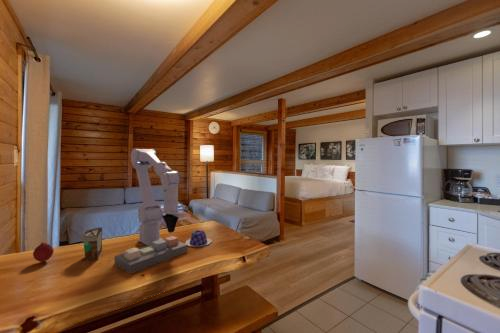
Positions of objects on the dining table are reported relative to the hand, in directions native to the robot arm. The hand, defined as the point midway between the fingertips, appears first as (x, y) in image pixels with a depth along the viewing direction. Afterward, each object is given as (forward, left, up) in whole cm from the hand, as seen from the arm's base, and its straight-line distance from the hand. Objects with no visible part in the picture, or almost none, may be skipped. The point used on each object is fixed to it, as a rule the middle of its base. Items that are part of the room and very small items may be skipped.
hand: (171, 231), depth 102 cm
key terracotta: (0, 0, -6) cm, 6 cm away
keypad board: (0, -8, -8) cm, 12 cm away
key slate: (0, -6, -6) cm, 8 cm away
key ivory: (0, -17, -6) cm, 18 cm away
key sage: (0, -11, -7) cm, 13 cm away
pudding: (+1, +14, -9) cm, 16 cm away
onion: (-28, -36, -8) cm, 47 cm away
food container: (-20, -23, -8) cm, 32 cm away
